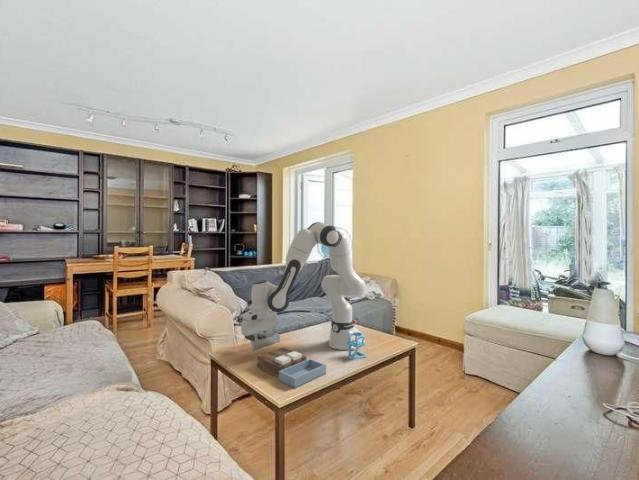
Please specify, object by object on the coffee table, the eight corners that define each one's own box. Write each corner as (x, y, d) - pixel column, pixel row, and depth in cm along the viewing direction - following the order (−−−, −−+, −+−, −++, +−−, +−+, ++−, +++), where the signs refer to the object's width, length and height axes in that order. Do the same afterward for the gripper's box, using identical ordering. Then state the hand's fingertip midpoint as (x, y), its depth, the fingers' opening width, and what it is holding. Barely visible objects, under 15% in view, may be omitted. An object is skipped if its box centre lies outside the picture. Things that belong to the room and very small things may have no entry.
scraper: (233, 341, 163) (233, 333, 163) (259, 333, 175) (259, 326, 174) (253, 351, 151) (253, 342, 151) (279, 342, 163) (279, 334, 162)
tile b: (283, 358, 146) (283, 355, 146) (290, 361, 143) (290, 358, 143) (274, 361, 142) (274, 358, 142) (282, 364, 139) (282, 361, 139)
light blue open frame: (344, 356, 163) (345, 333, 163) (356, 352, 168) (356, 330, 168) (355, 361, 157) (356, 337, 157) (367, 357, 162) (367, 333, 162)
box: (309, 366, 149) (310, 358, 149) (325, 373, 143) (326, 364, 142) (278, 380, 135) (278, 371, 135) (294, 388, 129) (295, 378, 128)
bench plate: (283, 357, 160) (283, 347, 160) (306, 367, 149) (306, 356, 149) (257, 367, 148) (257, 356, 148) (279, 378, 137) (280, 366, 137)
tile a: (294, 354, 151) (294, 351, 151) (301, 357, 148) (301, 354, 148) (286, 357, 148) (286, 353, 148) (293, 360, 144) (293, 356, 144)
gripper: (272, 307, 170) (272, 333, 170) (239, 315, 155) (239, 343, 155) (280, 310, 165) (280, 336, 166) (246, 318, 150) (246, 347, 151)
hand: (260, 340), depth 160 cm, fingers closed on scraper, 2 cm apart
